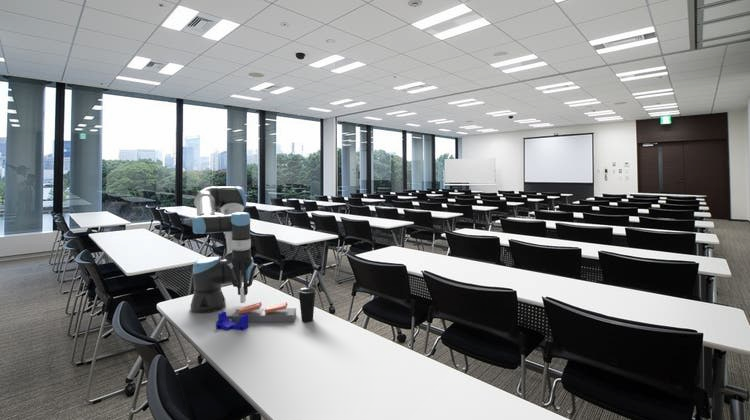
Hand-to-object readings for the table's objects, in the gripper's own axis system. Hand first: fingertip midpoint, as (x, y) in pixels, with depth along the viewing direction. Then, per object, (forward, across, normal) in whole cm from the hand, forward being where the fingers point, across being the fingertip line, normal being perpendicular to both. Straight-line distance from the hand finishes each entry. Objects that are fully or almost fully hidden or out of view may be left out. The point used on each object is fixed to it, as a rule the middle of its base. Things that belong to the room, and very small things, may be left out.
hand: (243, 301), depth 156 cm
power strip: (+8, +7, 0) cm, 10 cm away
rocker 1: (+3, +3, 0) cm, 5 cm away
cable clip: (+8, -2, -9) cm, 12 cm away
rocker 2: (+3, +14, 0) cm, 15 cm away
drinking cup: (+8, +28, -2) cm, 29 cm away
